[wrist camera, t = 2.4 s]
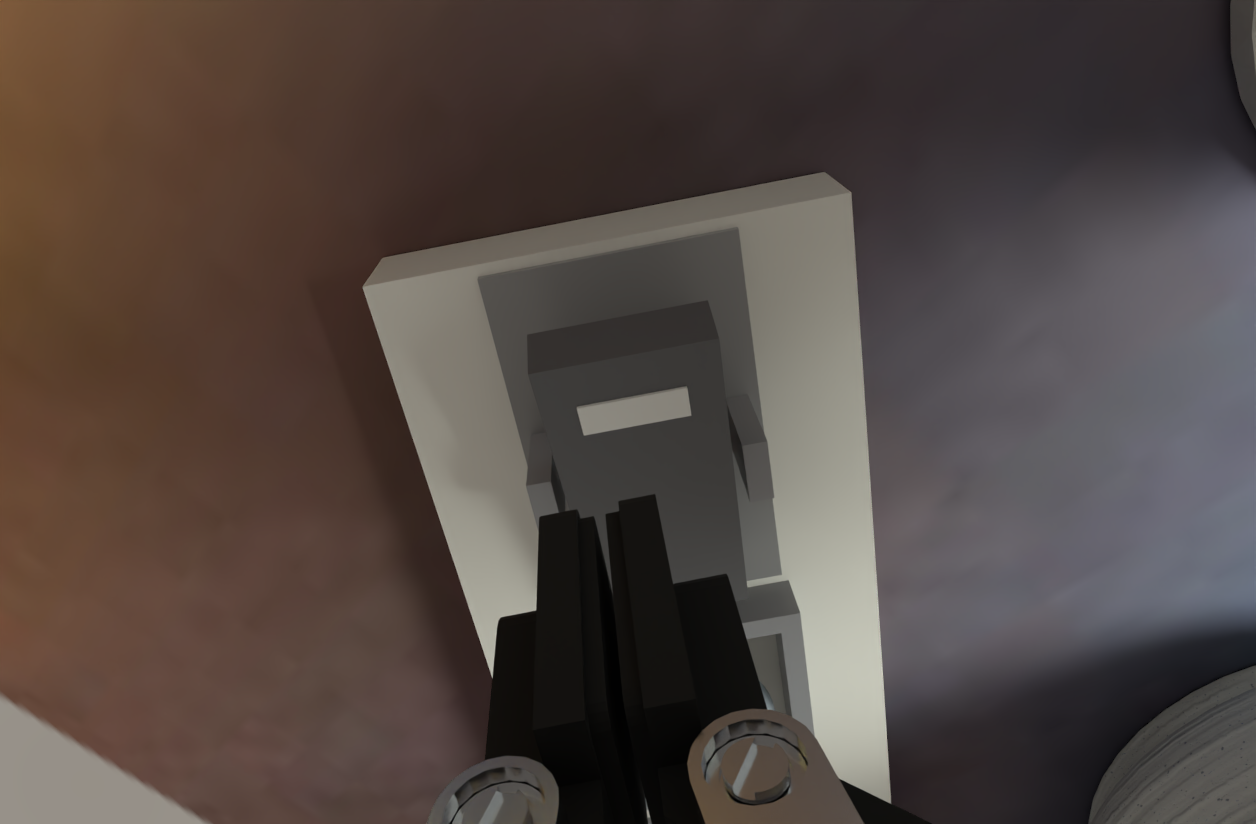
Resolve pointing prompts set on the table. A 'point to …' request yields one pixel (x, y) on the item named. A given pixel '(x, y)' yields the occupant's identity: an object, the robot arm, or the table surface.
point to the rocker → (645, 430)
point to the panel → (756, 403)
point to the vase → (1188, 762)
